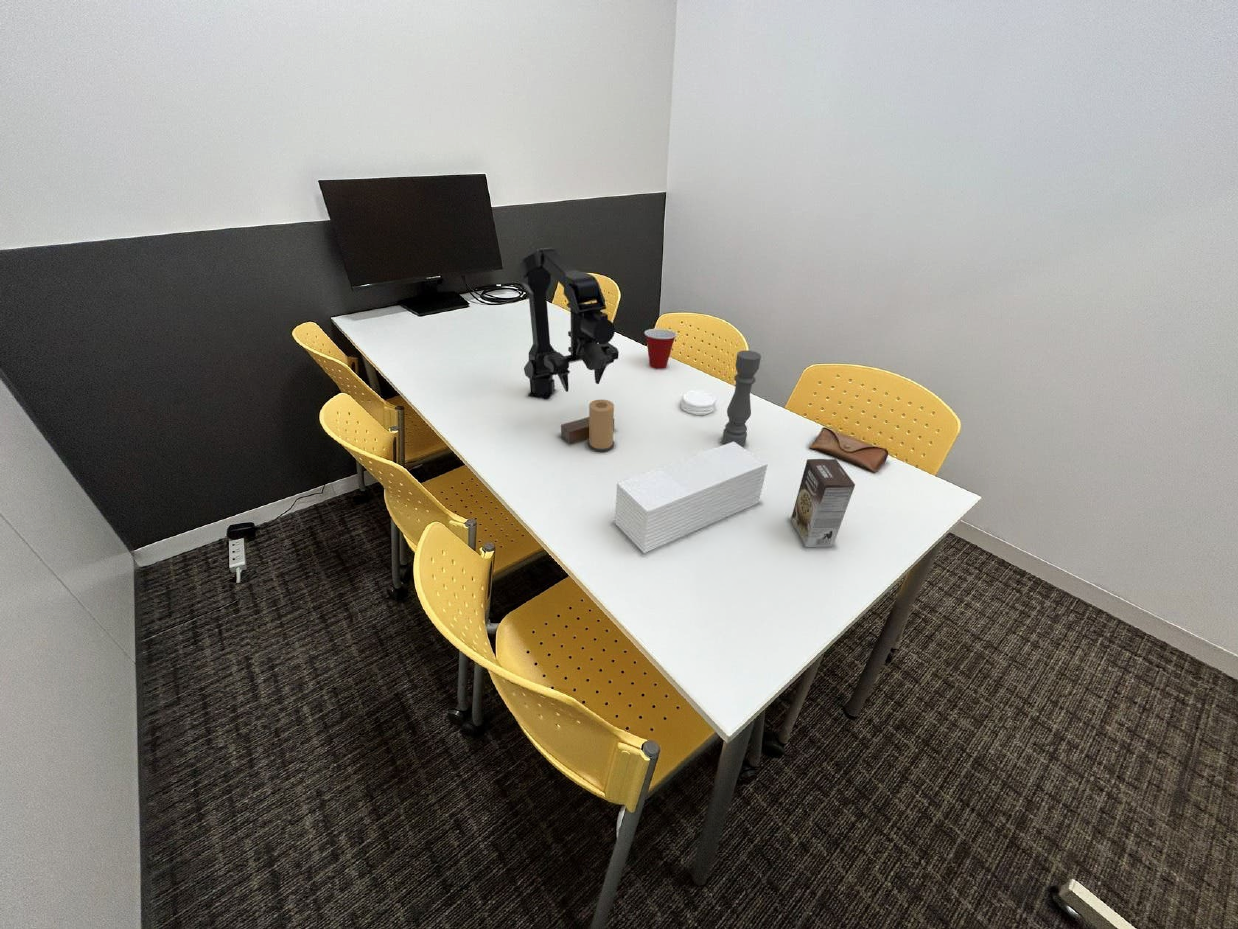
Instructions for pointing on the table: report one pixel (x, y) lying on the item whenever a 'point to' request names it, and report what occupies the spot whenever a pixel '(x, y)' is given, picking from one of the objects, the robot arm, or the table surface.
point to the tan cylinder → (601, 425)
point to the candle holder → (741, 398)
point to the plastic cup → (659, 346)
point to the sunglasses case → (850, 450)
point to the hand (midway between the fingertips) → (582, 387)
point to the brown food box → (821, 502)
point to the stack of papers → (688, 495)
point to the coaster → (698, 402)
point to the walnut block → (576, 430)
